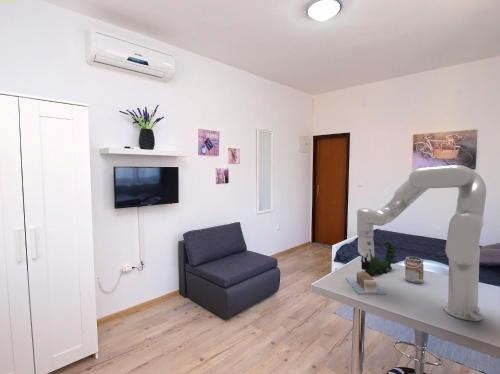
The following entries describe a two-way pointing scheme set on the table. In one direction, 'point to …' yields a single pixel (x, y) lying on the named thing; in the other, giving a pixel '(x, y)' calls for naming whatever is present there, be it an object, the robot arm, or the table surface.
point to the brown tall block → (366, 282)
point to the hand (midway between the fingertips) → (365, 269)
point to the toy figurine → (382, 264)
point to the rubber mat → (359, 289)
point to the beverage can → (414, 269)
